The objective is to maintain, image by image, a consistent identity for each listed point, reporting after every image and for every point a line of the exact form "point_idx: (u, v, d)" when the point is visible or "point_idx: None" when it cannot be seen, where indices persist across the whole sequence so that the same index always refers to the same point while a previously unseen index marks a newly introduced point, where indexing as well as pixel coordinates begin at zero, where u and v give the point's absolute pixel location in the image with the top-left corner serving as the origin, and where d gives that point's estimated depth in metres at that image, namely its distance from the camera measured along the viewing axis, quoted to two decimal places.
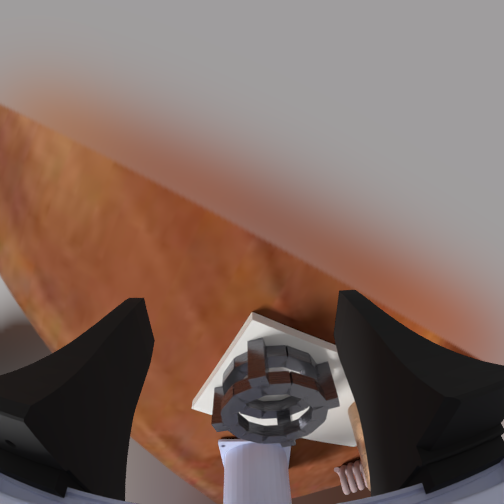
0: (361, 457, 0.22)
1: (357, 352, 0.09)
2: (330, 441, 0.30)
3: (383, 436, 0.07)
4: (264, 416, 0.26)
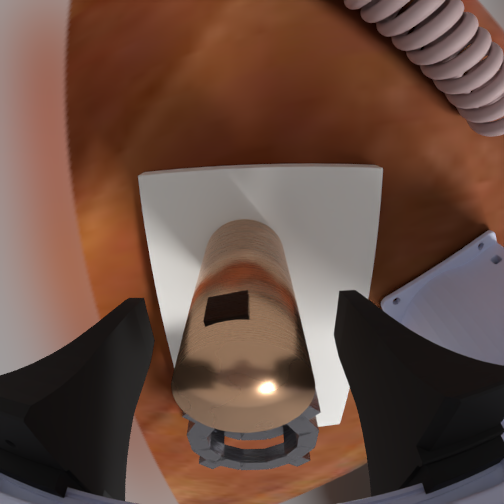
0: None
1: (357, 352, 0.09)
2: (370, 243, 0.16)
3: (383, 436, 0.07)
4: None
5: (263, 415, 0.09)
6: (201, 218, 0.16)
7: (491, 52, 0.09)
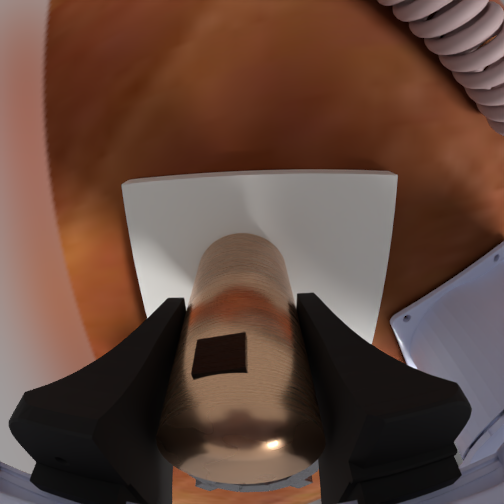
0: None
1: (309, 357, 0.09)
2: (382, 258, 0.14)
3: (327, 446, 0.07)
4: None
5: (264, 469, 0.07)
6: (193, 232, 0.14)
7: None
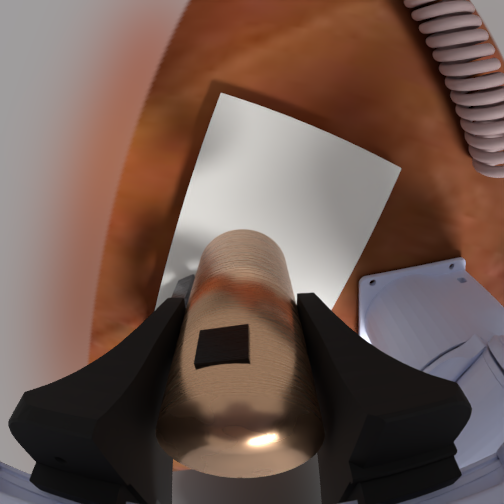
0: None
1: (310, 357, 0.09)
2: (372, 221, 0.20)
3: (328, 446, 0.07)
4: None
5: (262, 463, 0.07)
6: (255, 146, 0.18)
7: None
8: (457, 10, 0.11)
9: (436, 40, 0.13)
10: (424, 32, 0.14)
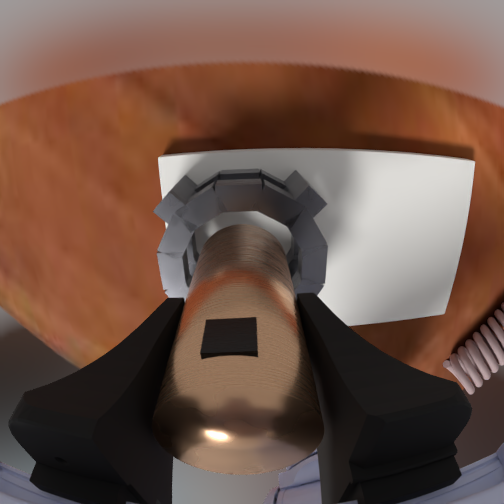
0: None
1: (310, 357, 0.09)
2: (403, 316, 0.22)
3: (328, 446, 0.07)
4: None
5: (255, 460, 0.07)
6: (444, 202, 0.18)
7: None
8: None
9: None
10: None
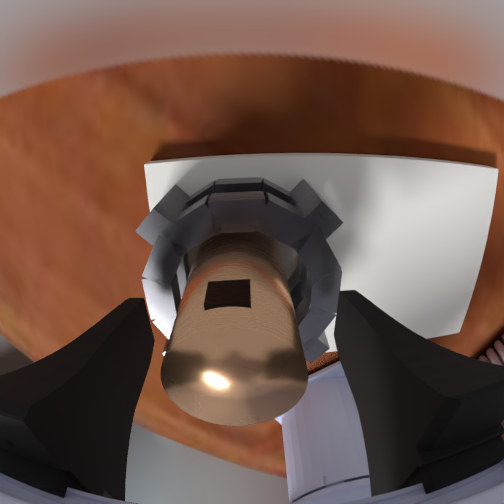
0: None
1: (357, 352, 0.09)
2: None
3: (383, 436, 0.07)
4: None
5: (250, 408, 0.09)
6: (465, 214, 0.16)
7: None
8: None
9: None
10: None
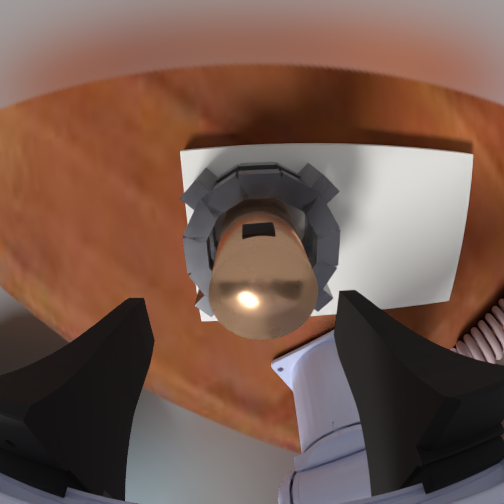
0: None
1: (357, 352, 0.09)
2: (409, 302, 0.23)
3: (383, 436, 0.07)
4: None
5: (275, 320, 0.12)
6: (445, 193, 0.19)
7: None
8: None
9: None
10: None
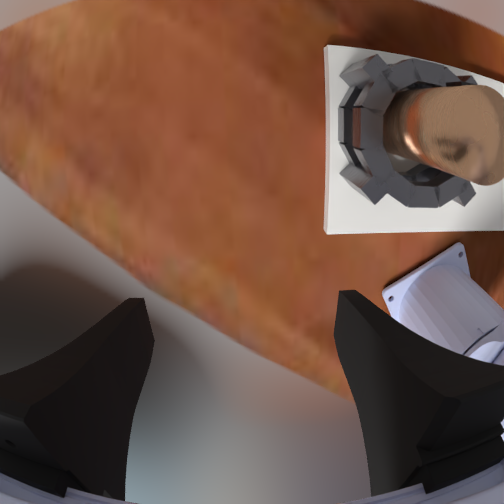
0: None
1: (357, 352, 0.09)
2: (502, 226, 0.20)
3: (383, 436, 0.07)
4: None
5: (492, 163, 0.09)
6: None
7: None
8: None
9: None
10: None
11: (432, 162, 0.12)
